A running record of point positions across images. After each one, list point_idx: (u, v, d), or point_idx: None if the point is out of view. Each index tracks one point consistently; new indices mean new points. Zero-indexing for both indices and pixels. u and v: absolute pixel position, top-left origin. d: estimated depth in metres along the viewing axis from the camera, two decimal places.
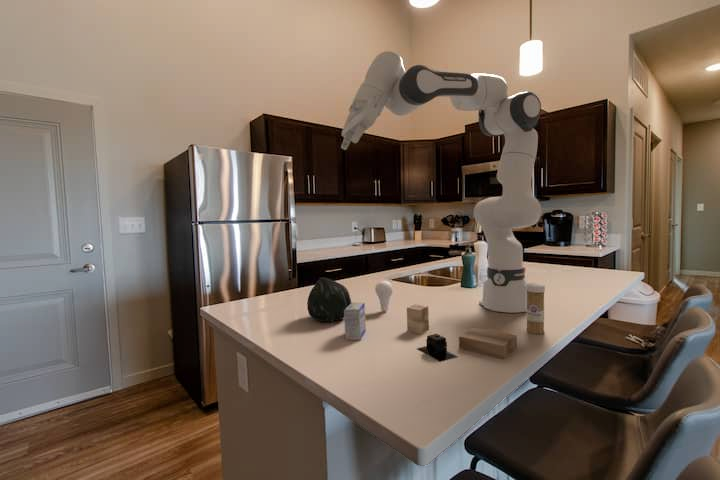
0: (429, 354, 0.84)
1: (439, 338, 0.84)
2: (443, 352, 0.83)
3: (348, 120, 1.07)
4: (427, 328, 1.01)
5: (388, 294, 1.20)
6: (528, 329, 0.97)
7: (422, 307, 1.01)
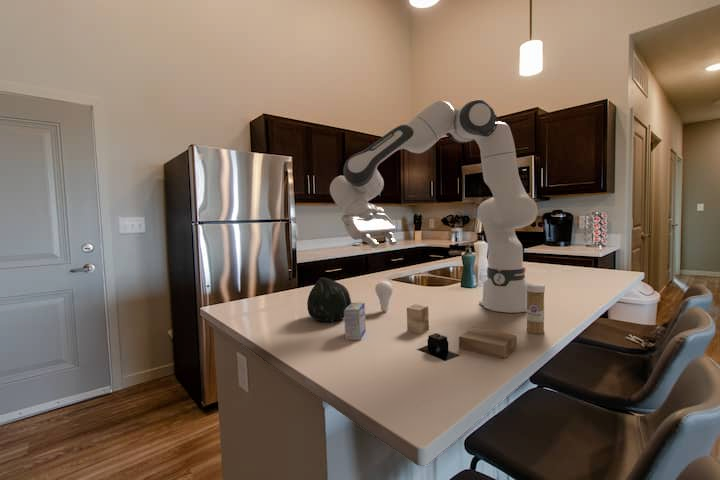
0: (431, 354, 0.84)
1: (441, 337, 0.84)
2: (445, 351, 0.84)
3: None
4: (427, 328, 1.01)
5: (388, 294, 1.20)
6: (528, 329, 0.97)
7: (422, 307, 1.01)
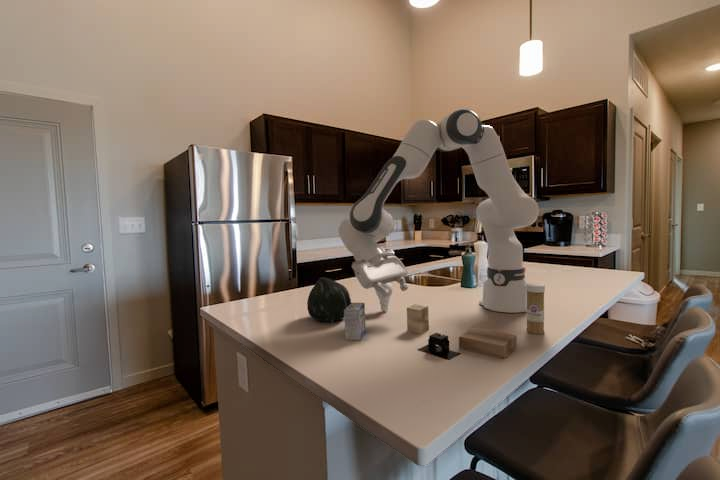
0: (433, 354, 0.84)
1: (442, 337, 0.84)
2: (446, 350, 0.84)
3: None
4: (427, 328, 1.01)
5: None
6: (528, 329, 0.97)
7: (422, 307, 1.01)
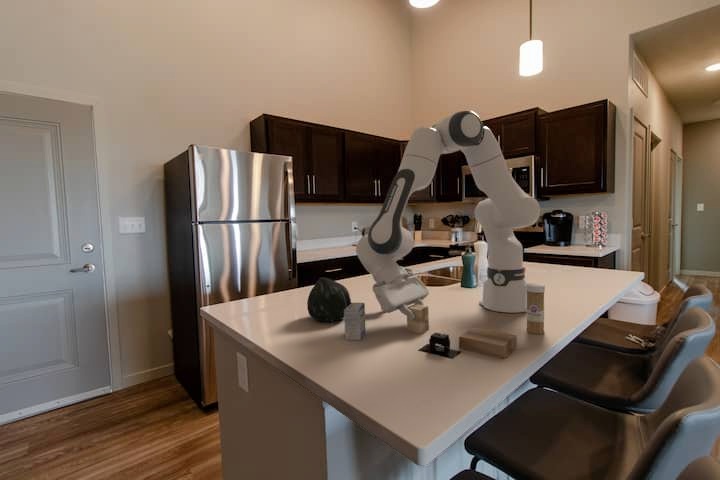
0: (436, 353, 0.84)
1: (444, 336, 0.85)
2: (448, 349, 0.85)
3: None
4: (427, 328, 1.01)
5: None
6: (528, 329, 0.97)
7: (422, 307, 1.01)
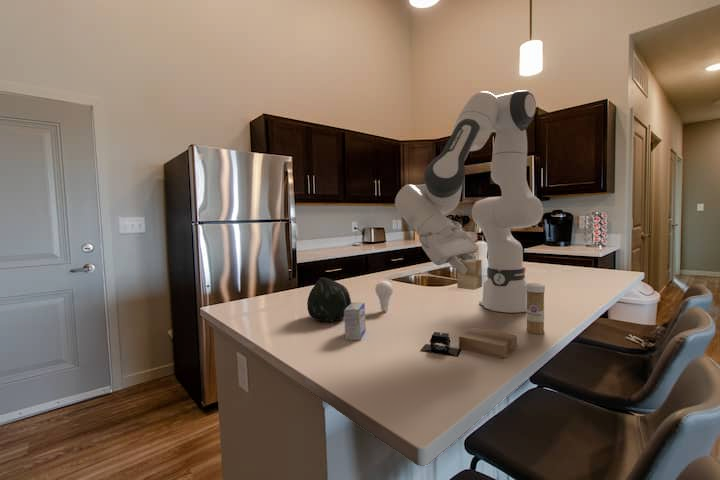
0: (438, 353, 0.84)
1: (445, 335, 0.86)
2: (449, 347, 0.86)
3: None
4: (480, 284, 0.89)
5: (388, 294, 1.20)
6: (528, 329, 0.97)
7: (475, 260, 0.88)
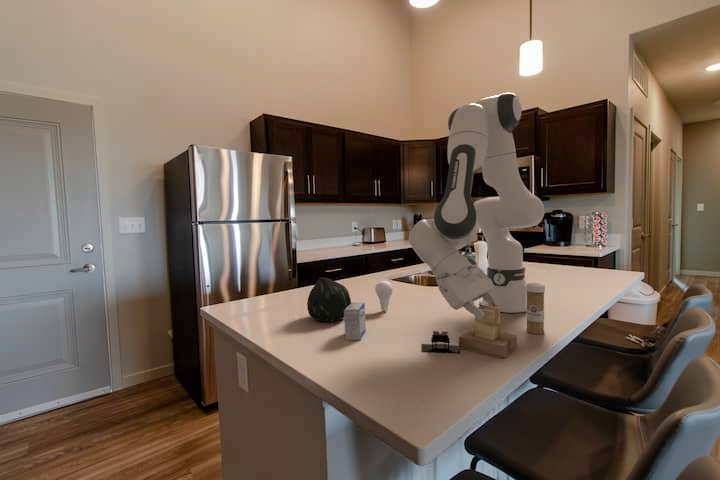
0: (441, 351, 0.85)
1: (445, 333, 0.87)
2: (448, 345, 0.87)
3: None
4: (499, 333, 0.87)
5: (388, 294, 1.20)
6: (528, 329, 0.97)
7: (494, 308, 0.86)
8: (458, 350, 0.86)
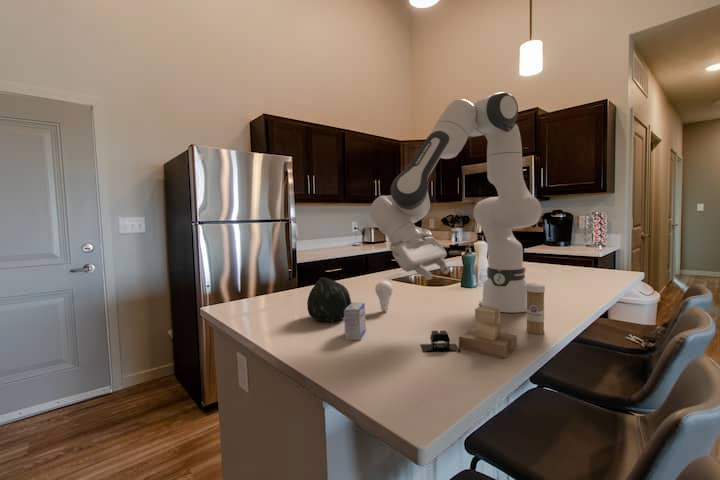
0: (442, 350, 0.86)
1: (444, 332, 0.88)
2: None
3: None
4: (499, 333, 0.87)
5: (388, 294, 1.20)
6: (528, 329, 0.97)
7: (494, 308, 0.86)
8: (457, 348, 0.87)
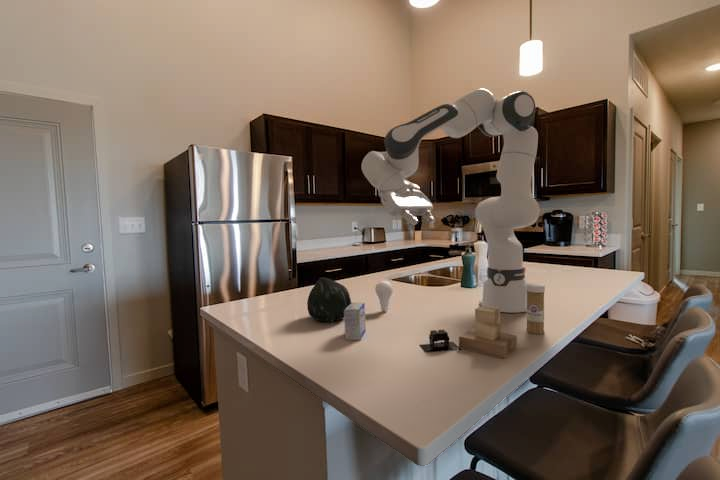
0: (443, 350, 0.86)
1: (443, 331, 0.88)
2: None
3: None
4: (499, 333, 0.87)
5: (388, 294, 1.20)
6: (528, 329, 0.97)
7: (494, 308, 0.86)
8: (456, 346, 0.88)
